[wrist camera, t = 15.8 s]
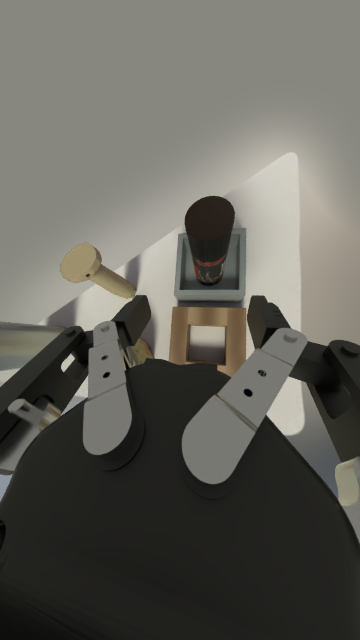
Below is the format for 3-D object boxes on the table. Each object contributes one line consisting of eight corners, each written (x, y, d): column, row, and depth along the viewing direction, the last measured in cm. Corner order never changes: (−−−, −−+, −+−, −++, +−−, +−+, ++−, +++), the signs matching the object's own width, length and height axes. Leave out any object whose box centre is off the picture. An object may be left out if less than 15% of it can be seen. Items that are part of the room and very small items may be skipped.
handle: (115, 293, 37) (55, 263, 23) (135, 278, 37) (87, 236, 22) (124, 308, 36) (67, 286, 22) (145, 292, 36) (101, 259, 21)
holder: (172, 374, 32) (167, 378, 28) (176, 310, 34) (172, 306, 30) (241, 382, 29) (245, 387, 26) (242, 311, 31) (246, 308, 27)
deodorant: (220, 287, 31) (230, 242, 17) (193, 284, 33) (180, 239, 18) (225, 261, 32) (238, 195, 17) (198, 259, 33) (189, 195, 19)
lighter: (130, 343, 35) (99, 344, 25) (143, 334, 34) (116, 332, 25) (144, 370, 33) (117, 383, 23) (158, 361, 33) (136, 370, 23)
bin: (179, 301, 34) (174, 294, 29) (182, 248, 35) (178, 233, 31) (239, 302, 31) (245, 295, 26) (240, 245, 33) (246, 228, 28)
